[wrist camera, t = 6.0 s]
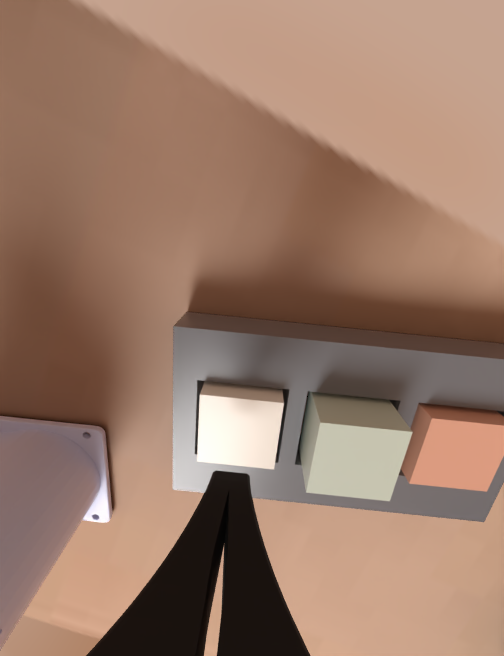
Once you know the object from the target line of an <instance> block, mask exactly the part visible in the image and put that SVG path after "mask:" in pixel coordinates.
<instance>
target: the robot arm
mask: <svg viewBox="0 0 504 656" xmlns="http://www.w3.org/2000/svg"><path fill="white" fill-rule="evenodd" d="M87 432H88V433H90V434H88V433H87ZM111 517H112V503H111V492H110V480H109V469H108V458H107V446H106V435H105V431H104V429H103V428H101V427H99V426H93V425H83V424H73V423H64V422H54V421H44V420H35V419H25V418H15V417H6V416H0V650H1V649H2V647H3V646H4V644H5V642H6V641H7V639H8V637H9V636H10V634H11V633H12V631H13V630H14V628H15V626H16V625H17V623H18V622H19V620H20V618H21V617H22V615H23V614H24V612H25V610H26V609H27V607H28V606H29V604H30V602H31V601H32V599H33V598H34V596H35V594H36V593H37V591H38V590H39V588H40V587H41V585H42V583H43V582H44V580H45V579H46V577H47V575H48V574H49V572H50V571H51V569H52V567H53V566H54V564H55V563H56V561H57V559H58V558H59V556H60V555H61V553H62V551H63V550H64V548H65V547H66V545H67V543H68V542H69V540H70V539H71V537H72V535H73V534H74V532H75V531H76V529H77V527H78V526H79V524H80V523H81V521H82V520H85V521H95V522H108V521H109V520H110V519H111ZM223 547H224V565H223V590H222V614H221V624H220V633H219V642H218V651H217V656H310V654H309V652H308V650H307V648H306V646H305V644H304V641H303V639H302V637H301V635H300V633H299V631H298V629H297V626H296V624H295V622H294V620H293V618H292V616H291V614H290V611H289V609H288V607H287V604H286V602H285V600H284V597H283V595H282V592H281V590H280V587H279V585H278V582H277V580H276V577H275V575H274V572H273V569H272V566H271V563H270V561H269V558H268V555H267V552H266V549H265V546H264V542H263V539H262V536H261V532H260V529H259V525H258V521H257V517H256V513H255V509H254V504H253V499H252V494H251V487H250V476H249V475H248V474H247V473H237V472H227V471H217V470H216V471H214V472H213V473H212V476H211V479H210V482H209V484H208V486H207V489H206V491H205V493H204V495H203V497H202V499H201V501H200V503H199V505H198V507H197V508H196V510H195V512H194V514H193V516H192V517H191V519H190V521H189V523H188V524H187V526H186V528H185V529H184V531H183V532H182V534H181V536H180V537H179V539H178V540H177V542H176V544H175V545H174V547H173V548H172V550H171V551H170V553H169V554H168V556H167V557H166V559H165V560H164V561H163V563H162V564H161V566H160V567H159V568H158V570H157V571H156V573H155V574H154V575H153V577H152V578H151V579H150V581H149V582H148V583H147V584H146V586H145V587H144V588H143V590H142V591H141V592H140V594H139V595H138V596H137V597H136V599H135V600H134V601H133V602H132V604H131V605H130V606H129V607H128V609H127V610H126V611H125V612H124V613H123V614H122V616H121V617H120V618H119V619H118V620H117V621H116V623H115V624H114V625H113V626H112V627H111V628H110V629H109V631H108V632H107V633H106V634H105V635H104V636H103V638H102V639H101V640H100V641H99V642H98V643H97V644H96V646H95V647H94V648H93V649H92V650H91V651H90V652H89V653H88V654H87V655H86V656H204V650H205V642H206V635H207V629H208V623H209V617H210V612H211V607H212V602H213V597H214V592H215V587H216V582H217V577H218V572H219V567H220V562H221V557H222V552H223Z"/></svg>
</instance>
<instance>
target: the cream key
mask: <svg viewBox="0 0 504 656" xmlns="http://www.w3.org/2000/svg"><path fill="white" fill-rule="evenodd" d="M283 406H284V400H283V391H282V389H280V388H271V387H261V386H251V385H241V384H231V383H221V382H212V381H205V382H204V385H203V387H202V390H201V393H200V400H199V425H198V451H197V462H207V463H216V464H226V465H235V466H245V467H255V468H264V469H274V466H275V459H276V453H277V446H278V439H279V433H280V426H281V419H282V413H283Z"/></svg>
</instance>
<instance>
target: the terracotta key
mask: <svg viewBox="0 0 504 656" xmlns="http://www.w3.org/2000/svg"><path fill="white" fill-rule="evenodd" d="M410 429H411V430H412V432H413V433H412V436H411V439H410V442H409V445H408V448H407V451H406V454H405V457H404V460H403V463H402V466H401V470H402V472H403V474H404V475H405V477H406V479H407V481H408V482H409V484H418V485H428V486H437V487H447V488H456V489H466V490H476V491H485V492H487V490H488V488H489V486H490V484H491V482H492V480H493V478H494V475H495V473H496V471H497V469H498V467H499V465H500V463H501V461H502V458H503V456H504V416H502V415H501V414H500V413H498V412H497V411H496V410H486V409H477V408H467V407H457V406H447V405H437V404H428V403H419V404H418V407H417V410H416V413H415V416H414V419H413V422H412V425H411V428H410Z"/></svg>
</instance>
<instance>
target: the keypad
mask: <svg viewBox="0 0 504 656" xmlns="http://www.w3.org/2000/svg"><path fill="white" fill-rule="evenodd" d="M205 381H212V382H221V383H231V384H241V385H251V386H261V387H271V388H280V389H283V400H284V406H283V413H282V419H281V426H280V433H279V439H278V446H277V453H276V459H275V466H274V469H264V468H255V467H245V466H235V465H226V464H216V463H207V462H197V451H198V425H199V400H200V393H201V390H202V387H203V385H204V382H205ZM308 391H310V392H320V393H329V394H339V395H349V396H359V397H369V398H379V399H388V400H389V401H390V402H391V403H392V405H393V406H394V407H395V409H396V410H397V411H398V413H399V414H400V415H401V417H402V418H403V420H404V421H405V422H406V424H407V425H408V426H409V428H411V425H412V422H413V419H414V416H415V413H416V410H417V407H418V404H419V403H428V404H437V405H447V406H457V407H467V408H477V409H486V410H496V411H497V412H498V413H500V414H501V415H502V416H504V344H503V343H493V342H483V341H473V340H463V339H453V338H443V337H433V336H423V335H413V334H403V333H393V332H383V331H373V330H363V329H353V328H343V327H333V326H323V325H313V324H303V323H293V322H283V321H273V320H263V319H253V318H243V317H233V316H223V315H213V314H203V313H194V312H186V313H185V315H184V316H183V317H182V318H181V319H180V320H179V321H178V322H177V323H176V324H175V325H174V326H173V490H183V491H192V492H202V493H205V491H206V489H207V486H208V484H209V482H210V479H211V476H212V473H213V472H214V471H216V470H217V471H227V472H237V473H247V474H248V475H249V476H250V487H251V494H252V498H259V499H269V500H278V501H288V502H297V503H307V504H317V505H326V506H336V507H345V508H355V509H364V510H374V511H383V512H393V513H403V514H412V515H422V516H431V517H441V518H450V519H460V520H470V521H479V522H484V521H485V519H486V517H487V515H488V513H489V511H490V509H491V507H492V505H493V503H494V501H495V499H496V497H497V495H498V493H499V491H500V489H501V487H502V485H503V482H504V456H503V458H502V461H501V463H500V465H499V467H498V469H497V471H496V473H495V475H494V478H493V480H492V482H491V484H490V486H489V488H488V490H487V492H485V491H476V490H466V489H456V488H447V487H437V486H428V485H418V484H409V482H408V481H407V479H406V477H405V475H404V474H403V472H402V470H401V469H400V472H399V475H398V478H397V481H396V484H395V487H394V490H393V493H392V496H391V499H390V501H382V500H372V499H363V498H353V497H344V496H334V495H325V494H315V493H306V489H305V483H304V476H303V470H302V464H301V458H300V452H299V444H300V439H301V435H300V432H301V426H302V421H303V415H304V410H305V404H306V398H307V393H308Z"/></svg>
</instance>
